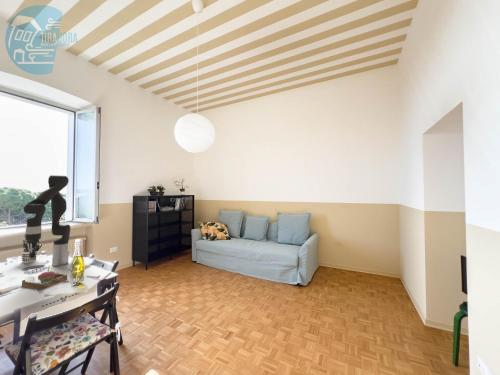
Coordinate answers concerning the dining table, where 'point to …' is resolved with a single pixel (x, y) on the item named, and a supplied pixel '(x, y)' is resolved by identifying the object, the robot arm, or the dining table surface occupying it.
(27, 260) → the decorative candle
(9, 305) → the dining table surface
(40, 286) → the walnut corral
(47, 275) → the cupcake
